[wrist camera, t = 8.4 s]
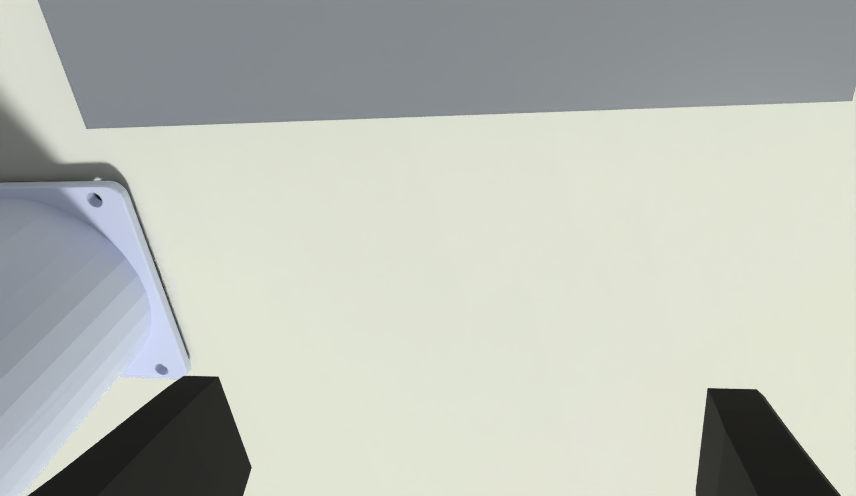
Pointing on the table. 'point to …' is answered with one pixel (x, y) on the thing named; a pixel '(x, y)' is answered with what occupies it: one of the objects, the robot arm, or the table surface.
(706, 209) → the table surface
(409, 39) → the grey flat slab
